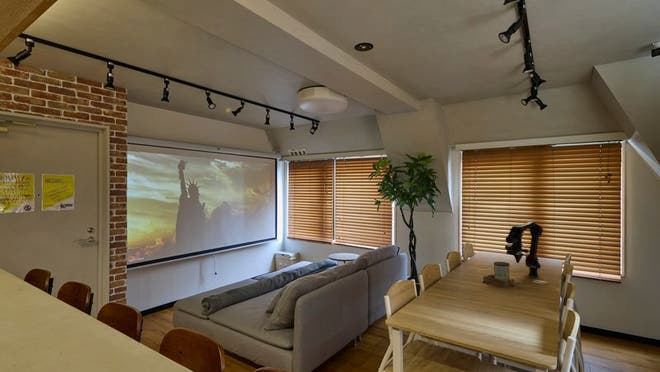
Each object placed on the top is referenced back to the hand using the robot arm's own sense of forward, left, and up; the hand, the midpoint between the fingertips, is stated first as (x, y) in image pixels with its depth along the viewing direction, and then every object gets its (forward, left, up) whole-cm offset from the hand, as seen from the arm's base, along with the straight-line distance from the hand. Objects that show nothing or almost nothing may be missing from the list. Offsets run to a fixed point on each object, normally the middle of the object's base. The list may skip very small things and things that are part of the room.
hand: (517, 262), depth 246 cm
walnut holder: (+20, -12, -12) cm, 26 cm away
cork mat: (+5, +14, -12) cm, 19 cm away
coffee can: (+17, -10, -12) cm, 23 cm away
